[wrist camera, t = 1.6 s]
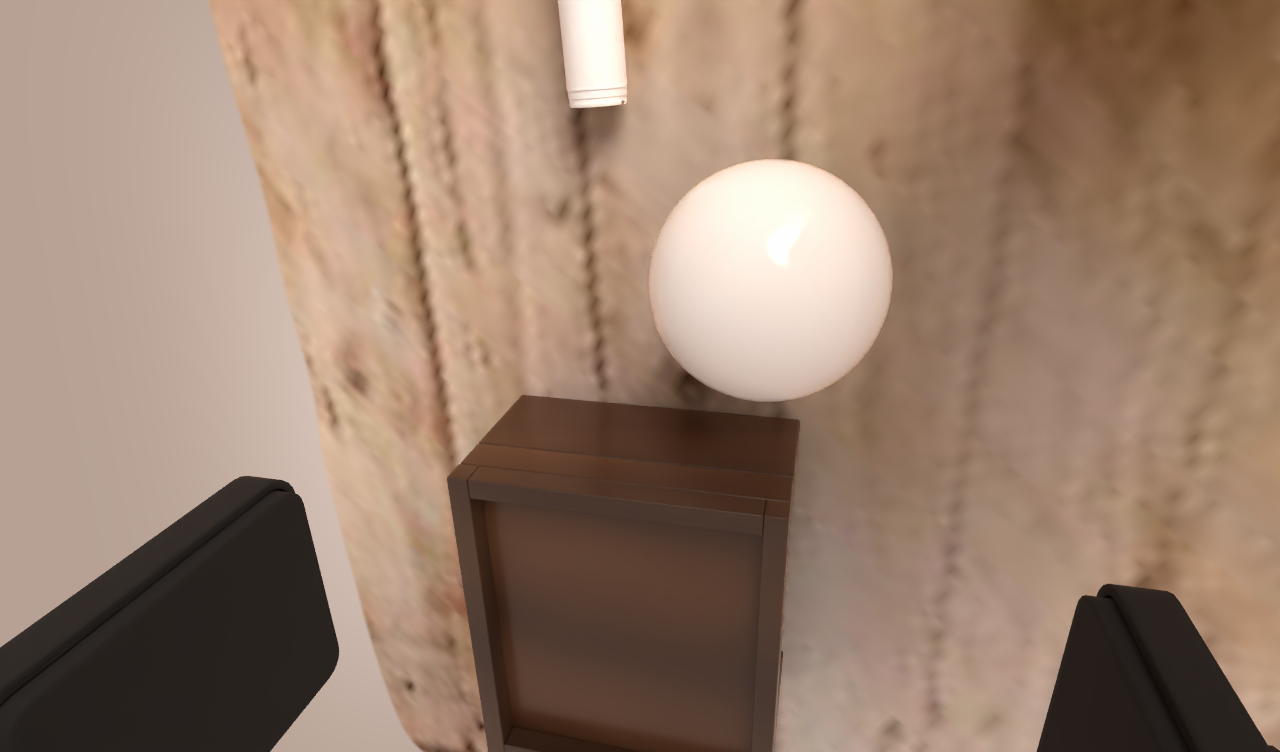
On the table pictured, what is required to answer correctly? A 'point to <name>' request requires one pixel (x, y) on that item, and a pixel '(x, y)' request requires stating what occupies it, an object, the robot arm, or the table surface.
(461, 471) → the tray
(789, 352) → the lightbulb
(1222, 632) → the table surface
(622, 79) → the marker
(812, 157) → the table surface
